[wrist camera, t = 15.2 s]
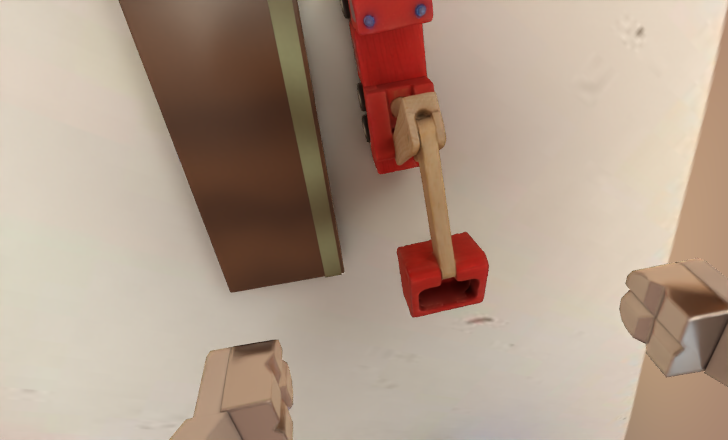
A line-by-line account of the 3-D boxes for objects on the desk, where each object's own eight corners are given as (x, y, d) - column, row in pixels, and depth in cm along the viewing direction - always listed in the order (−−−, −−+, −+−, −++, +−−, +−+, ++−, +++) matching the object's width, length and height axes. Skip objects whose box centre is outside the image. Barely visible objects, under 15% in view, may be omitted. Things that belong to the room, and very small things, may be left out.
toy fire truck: (405, -66, 19) (489, -60, 11) (430, 198, 27) (489, 314, 19) (330, -51, 19) (359, -33, 11) (376, 210, 27) (413, 331, 19)
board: (342, 256, 28) (344, 274, 27) (233, 275, 28) (230, 294, 27) (272, -142, 17) (270, -148, 16) (87, -119, 17) (69, -124, 15)
